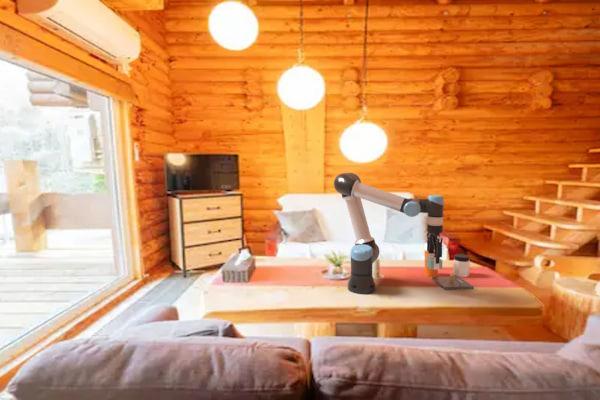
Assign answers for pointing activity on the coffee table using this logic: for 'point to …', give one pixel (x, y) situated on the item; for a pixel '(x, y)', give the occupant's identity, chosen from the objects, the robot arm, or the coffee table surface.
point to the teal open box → (432, 263)
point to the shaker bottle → (427, 271)
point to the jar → (461, 265)
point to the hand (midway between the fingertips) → (433, 267)
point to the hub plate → (452, 283)
